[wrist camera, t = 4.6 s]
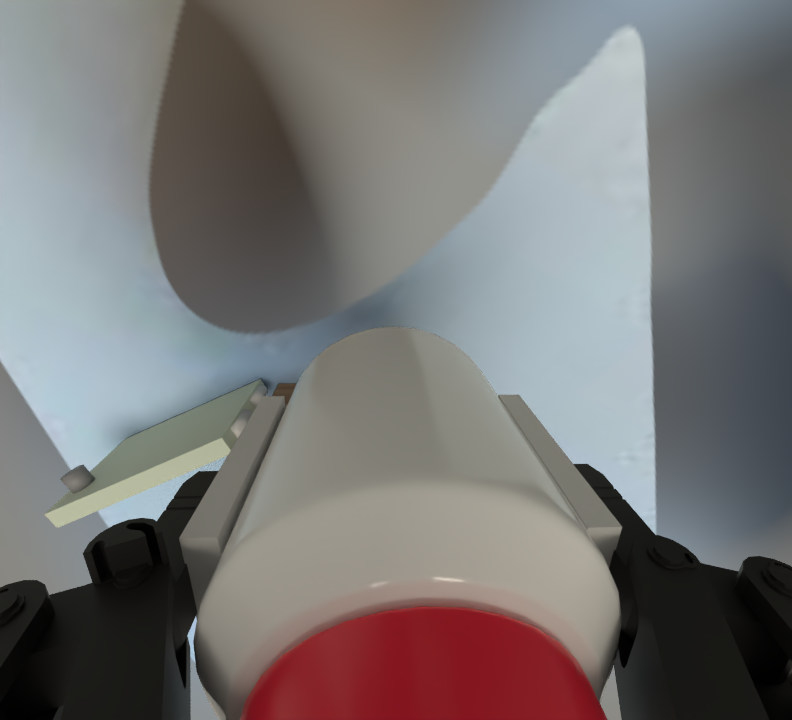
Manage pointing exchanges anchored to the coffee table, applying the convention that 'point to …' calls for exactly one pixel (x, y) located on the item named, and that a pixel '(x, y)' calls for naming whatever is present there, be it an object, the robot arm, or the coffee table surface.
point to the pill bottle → (405, 557)
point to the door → (158, 454)
